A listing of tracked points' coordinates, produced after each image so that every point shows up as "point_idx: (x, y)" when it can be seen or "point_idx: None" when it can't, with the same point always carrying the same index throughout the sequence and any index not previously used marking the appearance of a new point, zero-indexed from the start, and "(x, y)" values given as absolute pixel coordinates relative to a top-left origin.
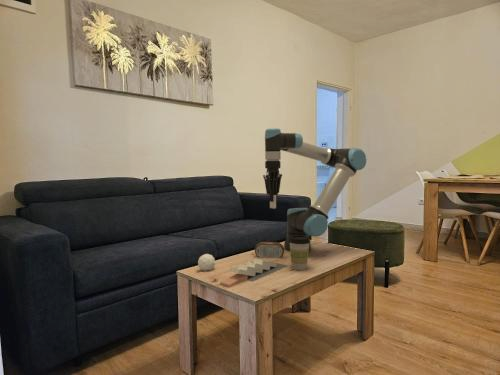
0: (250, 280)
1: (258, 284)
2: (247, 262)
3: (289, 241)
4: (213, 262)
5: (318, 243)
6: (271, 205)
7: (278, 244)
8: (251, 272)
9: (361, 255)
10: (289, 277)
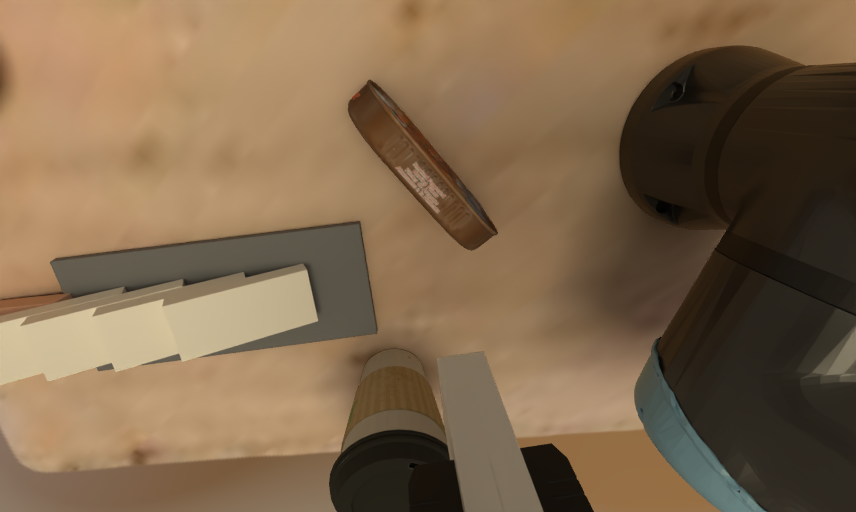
0: None
1: (121, 387)
2: (96, 320)
3: (336, 464)
4: None
5: None
6: (445, 412)
7: (457, 238)
8: None
9: None
10: (284, 409)
